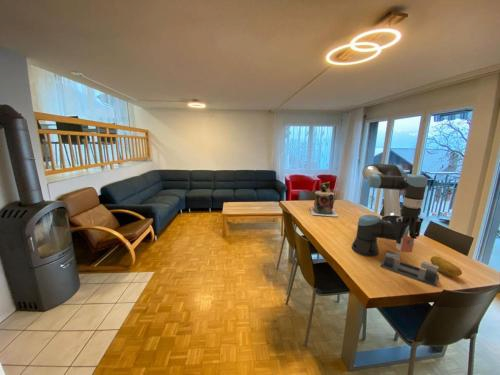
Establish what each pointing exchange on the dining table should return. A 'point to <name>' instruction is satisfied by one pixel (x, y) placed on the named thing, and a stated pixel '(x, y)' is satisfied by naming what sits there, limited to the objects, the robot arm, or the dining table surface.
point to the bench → (411, 269)
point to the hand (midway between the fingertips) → (403, 248)
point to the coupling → (407, 244)
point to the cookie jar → (324, 202)
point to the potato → (446, 266)
